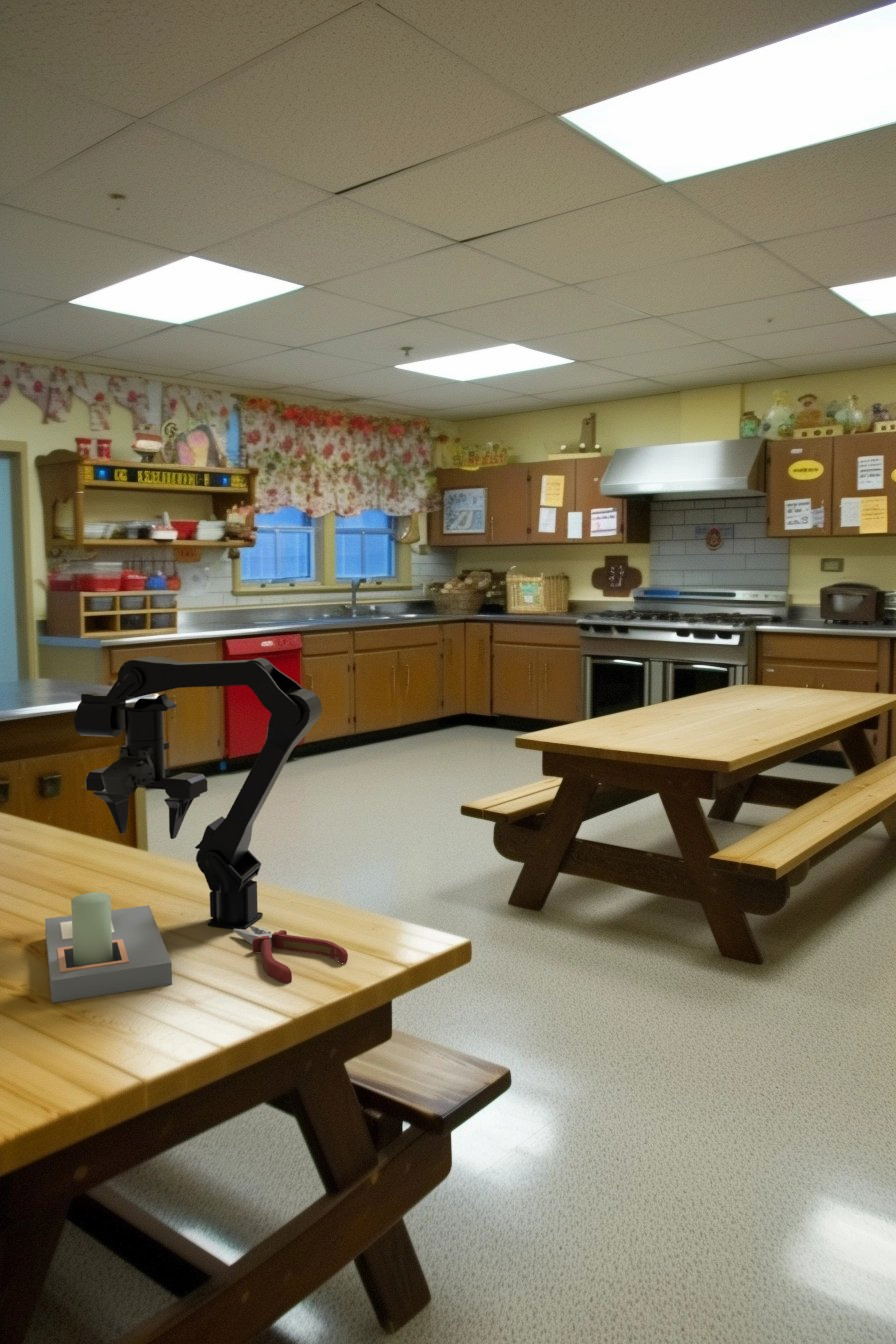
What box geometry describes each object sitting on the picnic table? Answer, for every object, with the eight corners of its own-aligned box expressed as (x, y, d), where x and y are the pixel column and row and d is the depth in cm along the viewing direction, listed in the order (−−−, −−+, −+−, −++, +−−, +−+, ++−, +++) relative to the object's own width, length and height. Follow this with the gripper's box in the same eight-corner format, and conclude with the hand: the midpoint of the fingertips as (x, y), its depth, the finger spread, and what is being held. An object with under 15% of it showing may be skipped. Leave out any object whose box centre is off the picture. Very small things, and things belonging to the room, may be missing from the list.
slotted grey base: (172, 984, 136) (171, 961, 136) (52, 1003, 130) (50, 979, 130) (149, 923, 158) (149, 904, 158) (45, 938, 152) (45, 917, 152)
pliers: (274, 926, 158) (273, 910, 158) (352, 965, 144) (351, 947, 143) (208, 945, 151) (207, 929, 150) (283, 989, 136) (282, 970, 136)
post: (116, 968, 141) (113, 891, 140) (109, 983, 136) (106, 904, 135) (79, 970, 140) (75, 893, 139) (70, 985, 136) (67, 905, 134)
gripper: (60, 743, 153) (64, 844, 155) (167, 751, 148) (170, 855, 150) (106, 731, 164) (109, 825, 166) (208, 738, 158) (210, 836, 160)
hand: (147, 835), depth 160 cm, fingers open, 9 cm apart
